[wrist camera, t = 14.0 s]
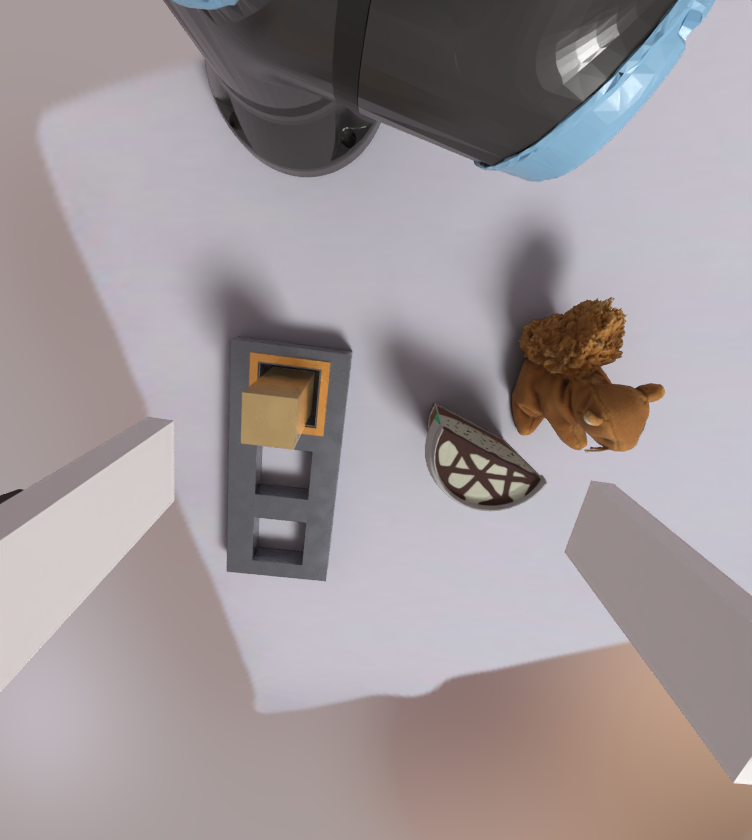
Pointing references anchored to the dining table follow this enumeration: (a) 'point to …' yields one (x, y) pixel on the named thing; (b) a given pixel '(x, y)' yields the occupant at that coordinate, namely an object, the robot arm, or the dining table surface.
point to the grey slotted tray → (317, 436)
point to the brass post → (277, 408)
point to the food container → (476, 464)
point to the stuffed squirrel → (580, 380)
